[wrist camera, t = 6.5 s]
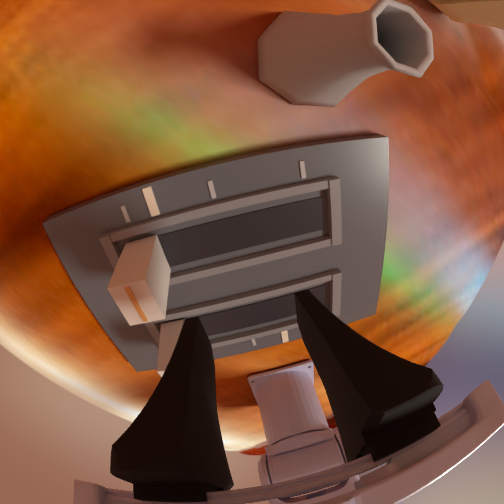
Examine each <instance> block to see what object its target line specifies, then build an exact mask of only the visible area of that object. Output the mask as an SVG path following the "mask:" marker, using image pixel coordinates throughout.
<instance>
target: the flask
mask: <svg viewBox="0 0 504 504" xmlns="http://www.w3.org/2000/svg"><path fill="white" fill-rule="evenodd" d="M257 48H258V77H259V80H260V81H261V82H263V83H264V84H266V85H267V86H269V87H270V88H272V89H273V90H274V91H276V92H277V93H279V94H280V95H281V96H283V97H284V98H286V99H287V100H288V101H290V102H291V103H292V104H294V105H310V106H327V107H334V106H336V105H337V104H338V103H339V102H340V101H341V100H342V99H343V98H344V97H345V96H346V95H347V94H348V93H349V92H350V91H352V90H353V89H354V88H355V87H357V86H358V85H359V84H360V83H362V82H363V81H364V80H365V79H367V78H368V77H370V76H373V75H375V74H378V73H381V72H384V71H386V70H394V71H398V72H401V73H405V74H408V75H411V76H415V77H421V76H422V75H423V74H424V72H425V71H426V69H427V68H428V66H429V65H430V63H431V62H432V60H433V59H434V54H433V39H432V31H431V30H430V28H429V27H428V26H427V25H426V23H425V22H424V21H423V20H422V18H421V17H420V16H419V15H418V14H417V13H416V12H415V10H414V9H413V8H412V7H410V6H408V5H406V4H403V3H401V2H398V1H396V0H378V1H377V2H376V3H375V4H374V5H373V6H372V7H371V8H370V9H369V10H367V11H364V12H361V13H353V14H343V15H331V14H317V13H303V12H289V11H284V12H282V13H281V14H280V15H279V16H278V17H277V18H276V19H275V20H274V21H273V22H272V23H271V24H270V26H269V27H268V28H267V29H266V30H265V31H264V32H263V33H262V34H261V36H260V37H259V38H258V39H257Z"/></svg>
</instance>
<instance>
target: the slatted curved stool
mask: <svg viewBox="0 0 504 504" xmlns="http://www.w3.org/2000/svg"><path fill="white" fill-rule="evenodd" d="M428 1H430V2H431V3H432V4H433V5H435V6H436V7H437V8H438V9H439V10H441V11H442V12H443V13H444V14H445V15H446V16H448V17H449V18H450V19H451V20H452V21H455V22H460V23H476V24H483V25H488V26H492V27H496V28H500V29H503V30H504V0H428Z"/></svg>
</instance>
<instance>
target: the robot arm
mask: <svg viewBox="0 0 504 504" xmlns="http://www.w3.org/2000/svg"><path fill="white" fill-rule="evenodd" d="M294 296H295V306H296V315H297V324H298V327H299V330H300V333H301V336H302V339H303V342H304V344H305V346H306V348H307V350H308V352H309V355H310V357H311V359H312V360H308V361H304V362H301V363H298V364H294V365H290V366H287V367H283V368H279V369H275V370H271V371H267V372H263V373H259V374H255V375H251V376H249V377H248V378H247V379H248V382H249V385H250V387H251V389H252V392H253V394H254V397H255V399H256V401H257V404H258V406H259V408H260V413H261V417H262V422H263V426H264V431H265V435H266V440H267V444H268V447H265V449H266V454H263V455H261V458H260V459H259V461H258V472H259V477H260V481H261V485H262V486H257V487H251V488H245V489H237V490H230V489H231V488H232V487H233V485H234V483H233V480H232V477H231V473H230V470H229V466H228V462H227V458H226V454H225V450H224V445H223V441H222V436H221V431H220V425H219V420H218V414H217V405H216V384H215V364H214V357H213V351H212V345H211V342H210V340H209V338H208V336H207V334H206V332H205V329H204V327H203V325H202V323H201V321H200V318H199V316H196V317H192V318H187V319H185V320H184V323H183V326H182V329H181V332H180V335H179V338H178V340H177V343H176V346H175V348H174V351H173V353H172V356H171V358H170V361H169V363H168V365H167V367H166V369H165V371H164V374H163V376H162V378H161V380H160V382H159V384H158V385H157V387H156V389H155V391H154V393H153V394H152V396H151V397H150V399H149V401H148V402H147V404H146V405H145V407H144V408H143V410H142V411H141V412H140V414H139V415H138V416H137V418H136V419H135V420H134V422H133V423H132V424H131V426H130V427H129V428H128V429H127V430H126V431H125V433H123V434H122V436H121V437H120V438H119V439H118V440H117V441H116V442H115V443H114V444H113V445H112V451H111V467H110V472H111V474H112V475H114V476H115V477H117V478H120V479H122V480H125V481H127V482H130V483H132V484H133V491H124V490H116V489H109V488H105V487H103V486H101V485H98V484H94V483H90V482H84V481H79V480H75V481H74V501H73V502H74V503H73V504H246V503H253V502H259V501H266V500H269V503H270V504H404V503H403V500H404V499H406V498H408V497H410V496H411V495H413V494H415V493H417V492H418V491H420V490H421V489H423V488H425V487H426V486H428V485H429V484H431V483H432V482H434V481H435V480H437V479H438V478H440V477H441V476H443V475H444V474H446V473H447V472H448V471H450V470H451V469H452V468H454V467H455V466H456V465H458V464H459V463H460V462H462V461H463V460H464V459H465V458H467V457H468V456H469V455H470V454H472V453H473V452H474V451H475V450H476V449H477V448H479V447H480V446H481V445H482V444H483V443H484V442H486V441H487V440H488V439H489V438H490V437H491V436H492V435H493V434H494V433H495V432H496V431H498V430H499V429H500V428H501V427H502V426H503V425H504V404H503V402H502V401H501V399H500V398H499V396H498V394H497V393H496V391H495V389H494V388H493V386H492V385H491V383H490V382H489V380H487V381H485V382H484V383H483V384H482V385H480V386H479V387H478V388H476V389H475V390H474V391H473V392H471V393H470V394H469V395H468V396H467V397H466V398H465V399H464V400H463V402H462V403H461V404H459V405H458V406H456V407H455V408H453V409H452V410H450V411H449V412H447V413H446V414H444V415H443V416H441V417H440V418H438V419H437V417H436V415H435V413H434V412H435V411H436V408H435V406H434V404H433V402H434V401H435V400H436V399H437V397H438V396H439V395H440V393H441V392H442V390H443V384H442V383H441V381H440V380H439V378H438V377H437V375H436V374H435V373H434V372H433V370H432V369H431V368H427V367H424V366H421V365H418V364H415V363H412V362H410V361H407V360H405V359H403V358H400V357H398V356H396V355H394V354H392V353H390V352H388V351H386V350H384V349H382V348H380V347H379V346H377V345H375V344H374V343H372V342H370V341H369V340H367V339H366V338H364V337H362V336H361V335H360V334H358V333H357V332H355V331H354V330H353V329H351V328H350V327H349V326H347V325H346V324H345V323H344V322H342V321H341V320H340V319H339V318H338V317H337V316H335V315H334V314H333V313H332V312H331V311H330V310H329V309H328V308H326V307H325V306H324V305H323V304H322V303H321V302H320V301H319V300H318V299H317V298H316V297H315V296H314V295H313V294H312V292H311V291H310V290H308V289H306V290H302V291H298V292H295V293H294ZM313 363H314V365H315V367H316V369H317V371H318V374H319V376H320V378H321V380H322V382H323V385H324V387H325V390H326V393H327V396H328V399H329V402H330V405H331V408H332V411H333V414H334V417H335V420H336V424H337V427H338V430H339V433H336V434H334V433H333V431H332V428H329V426H328V424H327V421H326V418H325V415H324V413H323V410H322V407H321V404H320V402H319V399H318V396H317V393H316V391H315V388H314V368H313ZM386 462H388V463H387V464H386V465H385V466H383V467H381V468H379V469H377V470H375V471H373V472H371V473H368V474H366V475H364V476H362V477H361V478H360V479H359V475H358V474H361V473H363V472H366V471H368V470H371V469H373V468H375V467H378V466H380V465H382V464H384V463H386ZM338 483H340V484H338ZM335 484H338V485H336V486H334V487H331V488H328V489H325V490H322V491H319V492H316V493H312V494H308V495H304V496H301V497H295V498H290V497H293V496H297V495H301V494H305V493H309V492H312V491H316V490H319V489H323V488H326V487H329V486H332V485H335ZM228 490H229V491H228Z"/></svg>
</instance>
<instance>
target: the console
mask: <svg viewBox="0 0 504 504" xmlns="http://www.w3.org/2000/svg"><path fill="white" fill-rule="evenodd" d="M388 194H389V143H388V137H387V136H384V135H380V134H375V135H364V136H354V137H344V138H336V139H328V140H321V141H314V142H307V143H301V144H294V145H289V146H283V147H277V148H272V149H267V150H261V151H256V152H252V153H247V154H242V155H238V156H233V157H229V158H224V159H220V160H216V161H212V162H208V163H204V164H200V165H196V166H193V167H189V168H185V169H182V170H178V171H174V172H171V173H168V174H164V175H161V176H158V177H154V178H151V179H148V180H145V181H142V182H138V183H135V184H132V185H129V186H126V187H124V188H121V189H118V190H115V191H112V192H109V193H107V194H104V195H101V196H98V197H96V198H93V199H91V200H88V201H85V202H83V203H80V204H78V205H75V206H73V207H70V208H68V209H66V210H63V211H61V212H59V213H56V214H54V215H52V216H49V217H48V218H47V219H46V220H45V221H44V222H43V223H42V224H43V226H44V228H45V230H46V233H47V235H48V237H49V239H50V241H51V243H52V245H53V247H54V249H55V251H56V253H57V254H58V256H59V258H60V260H61V262H62V264H63V266H64V267H65V269H66V271H67V273H68V274H69V276H70V278H71V280H72V281H73V283H74V285H75V286H76V288H77V290H78V291H79V293H80V294H81V296H82V298H83V299H84V301H85V302H86V304H87V305H88V307H89V308H90V310H91V311H92V313H93V314H94V316H95V317H96V319H97V320H98V322H99V323H100V324H101V326H102V327H103V329H104V330H105V331H106V333H107V334H108V336H109V337H110V338H111V340H112V341H113V342H114V344H115V345H116V346H117V348H118V349H119V350H120V351H121V353H122V354H123V355H124V356H125V358H126V359H127V360H128V361H129V363H130V364H131V365H132V366H133V367H134V369H135V370H136V371H137V372H138V371H146V370H154V369H157V365H158V352H159V340H160V330H161V324H163V323H168V322H173V321H177V320H182V319H187V318H192V317H196V316H199V318H200V321H201V323H202V325H203V327H204V329H205V332H206V334H207V336H208V338H209V340H210V342H211V345H212V351H213V357H214V359H218V358H223V357H227V356H232V355H237V354H241V353H245V352H250V351H254V350H258V349H262V348H266V347H270V346H274V345H278V344H282V343H285V342H289V341H293V340H296V339H300V338H302V336H301V333H300V330H299V327H298V324H297V315H296V306H295V296H294V293H295V292H298V291H302V290H306V289H308V290H310V291H311V292H312V294H313V295H314V296H315V297H316V298H317V299H318V300H319V301H320V302H321V303H322V304H323V305H324V306H325V307H326V308H328V309H329V310H330V311H331V312H332V313H333V314H334V315H335V316H337V317H338V318H339V319H340V320H341V321H342V322H344V323H345V324H348V323H351V322H354V321H357V320H359V319H362V318H365V317H368V316H371V315H373V314H376V308H377V302H378V296H379V290H380V283H381V276H382V269H383V260H384V251H385V241H386V230H387V215H388ZM153 235H157V237H158V239H159V242H160V244H161V247H162V249H163V252H164V254H165V257H166V259H167V262H168V264H169V267H170V269H171V273H170V281H169V289H168V298H167V307H166V317H165V319H162V320H157V321H152V322H147V323H142V324H137V325H132V326H130V325H129V323H128V322H127V320H126V319H125V317H124V315H123V314H122V312H121V311H120V309H119V307H118V306H117V304H116V303H115V301H114V299H113V298H112V296H111V294H110V292H109V291H108V289H107V288H108V285H109V283H110V280H111V277H112V275H113V272H114V270H115V267H116V265H117V263H118V260H119V258H120V255H121V253H122V251H123V249H124V246H125V244H126V243H129V242H132V241H136V240H139V239H143V238H146V237H150V236H153Z"/></svg>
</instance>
